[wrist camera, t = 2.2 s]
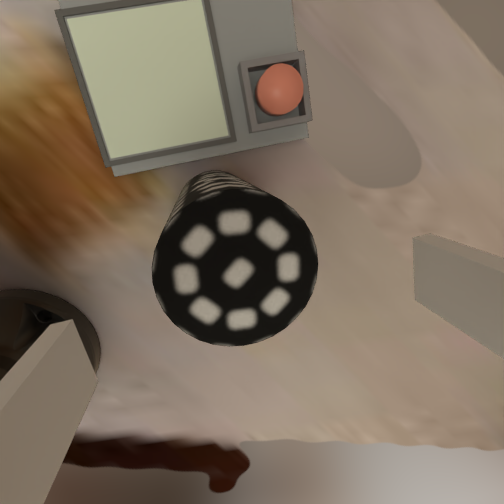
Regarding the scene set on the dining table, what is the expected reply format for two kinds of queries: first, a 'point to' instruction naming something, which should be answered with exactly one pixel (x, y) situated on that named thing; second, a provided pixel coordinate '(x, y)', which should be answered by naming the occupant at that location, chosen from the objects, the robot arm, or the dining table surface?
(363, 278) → the dining table surface
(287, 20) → the picture board
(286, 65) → the button
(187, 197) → the white-spotted black cylinder
